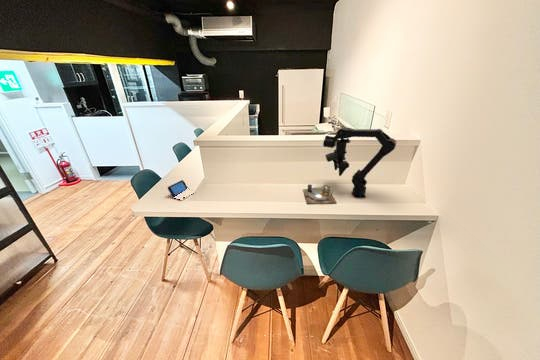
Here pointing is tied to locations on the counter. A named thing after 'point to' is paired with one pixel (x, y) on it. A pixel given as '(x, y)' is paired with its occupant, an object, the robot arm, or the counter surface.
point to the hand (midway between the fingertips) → (337, 172)
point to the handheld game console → (177, 188)
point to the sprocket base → (311, 201)
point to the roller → (326, 189)
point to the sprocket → (317, 194)
